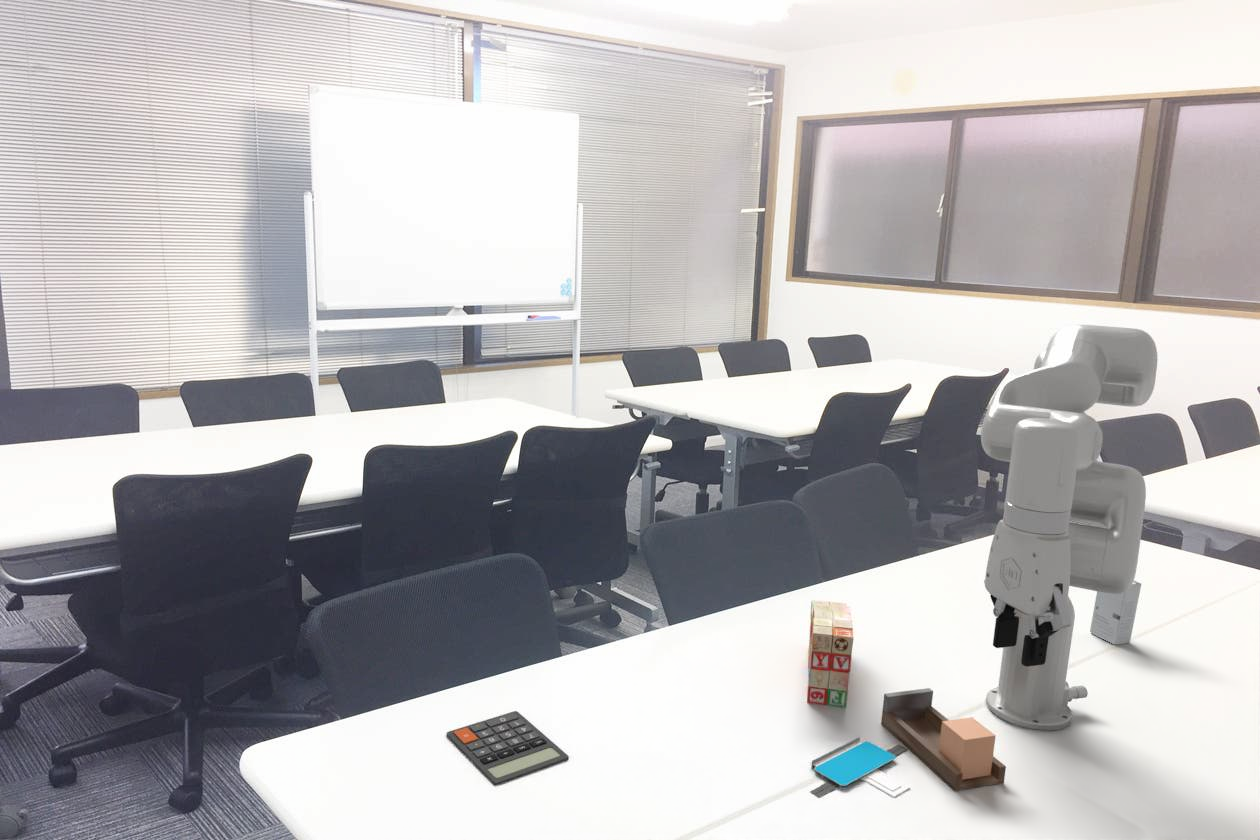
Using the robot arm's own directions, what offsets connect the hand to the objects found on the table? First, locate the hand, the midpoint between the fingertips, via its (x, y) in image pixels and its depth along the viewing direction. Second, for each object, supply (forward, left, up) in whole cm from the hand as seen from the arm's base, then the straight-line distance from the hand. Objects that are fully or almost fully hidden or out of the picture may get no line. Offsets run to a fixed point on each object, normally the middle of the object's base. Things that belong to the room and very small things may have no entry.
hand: (1018, 653), depth 119 cm
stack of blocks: (+4, -38, -22) cm, 44 cm away
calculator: (+60, -29, -22) cm, 71 cm away
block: (0, -8, -21) cm, 23 cm away
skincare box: (-58, -40, -22) cm, 73 cm away
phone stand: (+13, -11, -22) cm, 28 cm away
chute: (0, -13, -21) cm, 25 cm away
